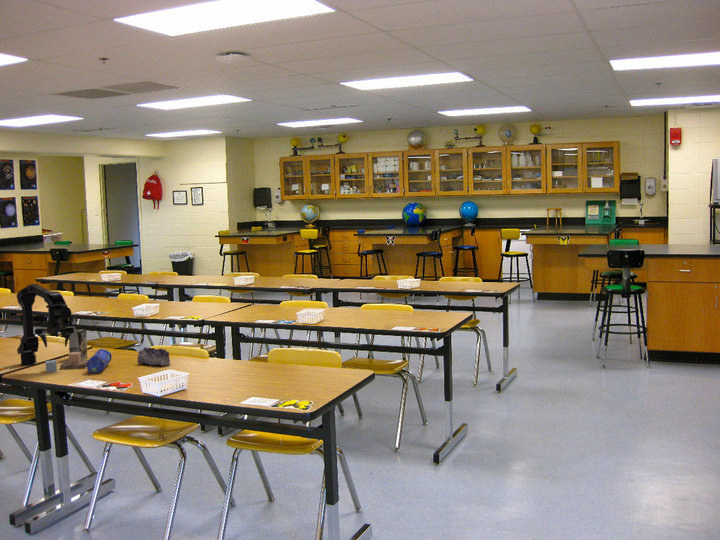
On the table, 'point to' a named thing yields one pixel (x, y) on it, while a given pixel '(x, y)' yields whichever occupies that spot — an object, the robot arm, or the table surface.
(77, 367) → the plinth
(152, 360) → the geode
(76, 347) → the coffee box
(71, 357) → the terracotta block
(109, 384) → the table surface
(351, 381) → the table surface
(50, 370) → the slate block
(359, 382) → the table surface
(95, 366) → the pencil case
